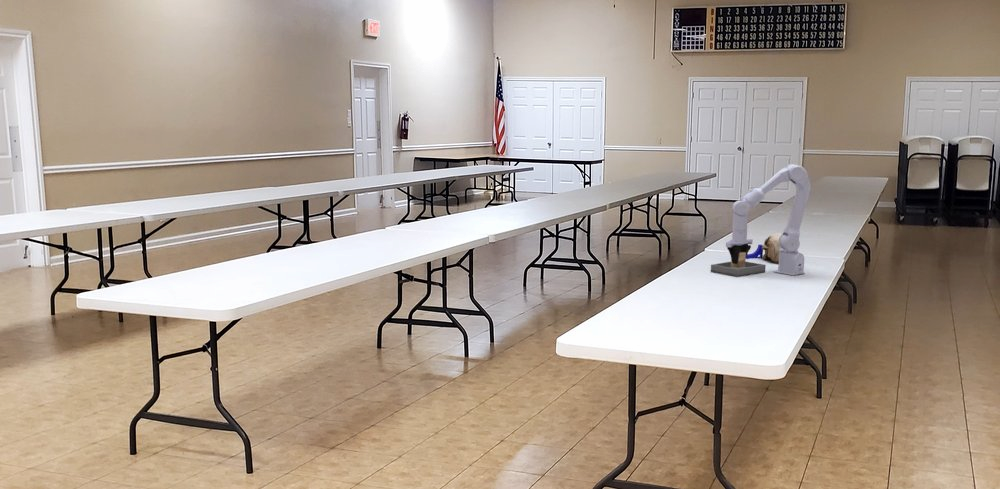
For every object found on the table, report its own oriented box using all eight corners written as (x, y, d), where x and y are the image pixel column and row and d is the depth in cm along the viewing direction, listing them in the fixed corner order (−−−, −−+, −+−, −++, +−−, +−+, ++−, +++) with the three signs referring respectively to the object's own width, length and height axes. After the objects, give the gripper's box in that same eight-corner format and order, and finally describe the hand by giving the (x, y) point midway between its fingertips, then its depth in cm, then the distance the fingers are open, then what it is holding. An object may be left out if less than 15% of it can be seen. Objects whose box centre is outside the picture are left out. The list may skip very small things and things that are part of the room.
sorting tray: (765, 272, 345) (765, 264, 345) (737, 277, 335) (738, 269, 335) (738, 267, 356) (738, 260, 356) (710, 271, 346) (711, 264, 345)
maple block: (745, 266, 345) (745, 252, 344) (738, 267, 343) (739, 253, 342) (737, 265, 348) (737, 251, 347) (730, 266, 346) (731, 252, 345)
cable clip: (735, 259, 377) (736, 245, 376) (733, 257, 381) (734, 244, 380) (763, 259, 376) (763, 246, 375) (761, 257, 380) (761, 244, 379)
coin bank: (769, 255, 383) (773, 227, 379) (804, 265, 370) (808, 235, 367) (749, 260, 373) (753, 231, 369) (784, 270, 360) (788, 240, 357)
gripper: (743, 227, 350) (741, 259, 352) (720, 230, 342) (719, 263, 344) (757, 229, 345) (755, 262, 347) (734, 232, 336) (732, 265, 338)
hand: (738, 263), depth 345 cm, fingers closed on maple block, 4 cm apart
